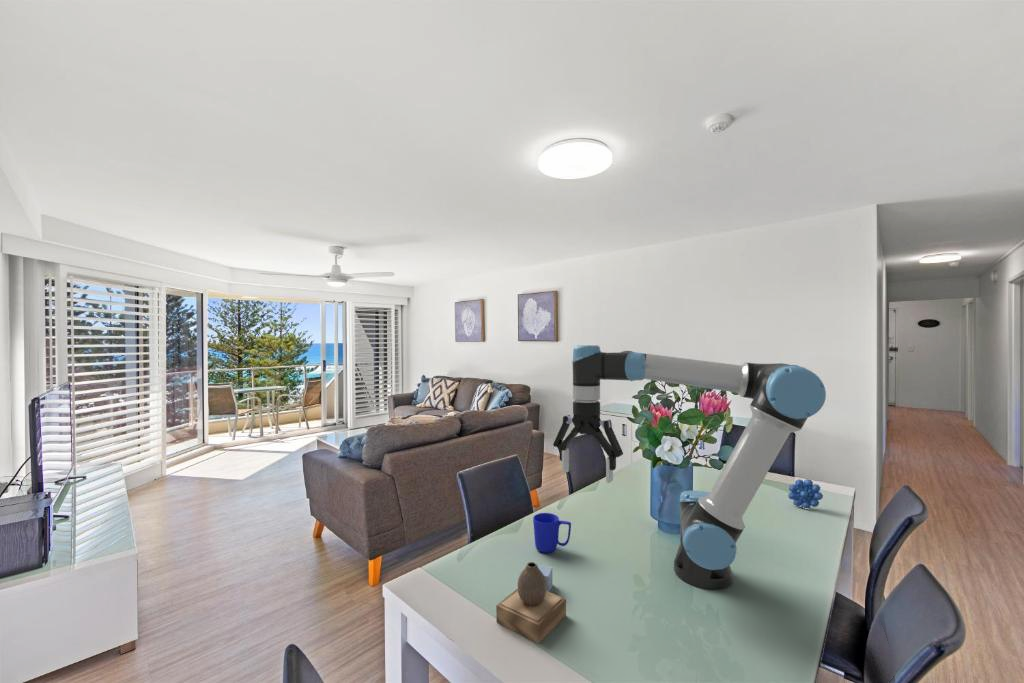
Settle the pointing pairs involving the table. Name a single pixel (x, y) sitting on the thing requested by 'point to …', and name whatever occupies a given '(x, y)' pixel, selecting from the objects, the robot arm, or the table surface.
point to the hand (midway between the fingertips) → (586, 476)
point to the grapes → (805, 493)
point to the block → (547, 576)
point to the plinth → (531, 615)
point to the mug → (548, 532)
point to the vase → (531, 585)
